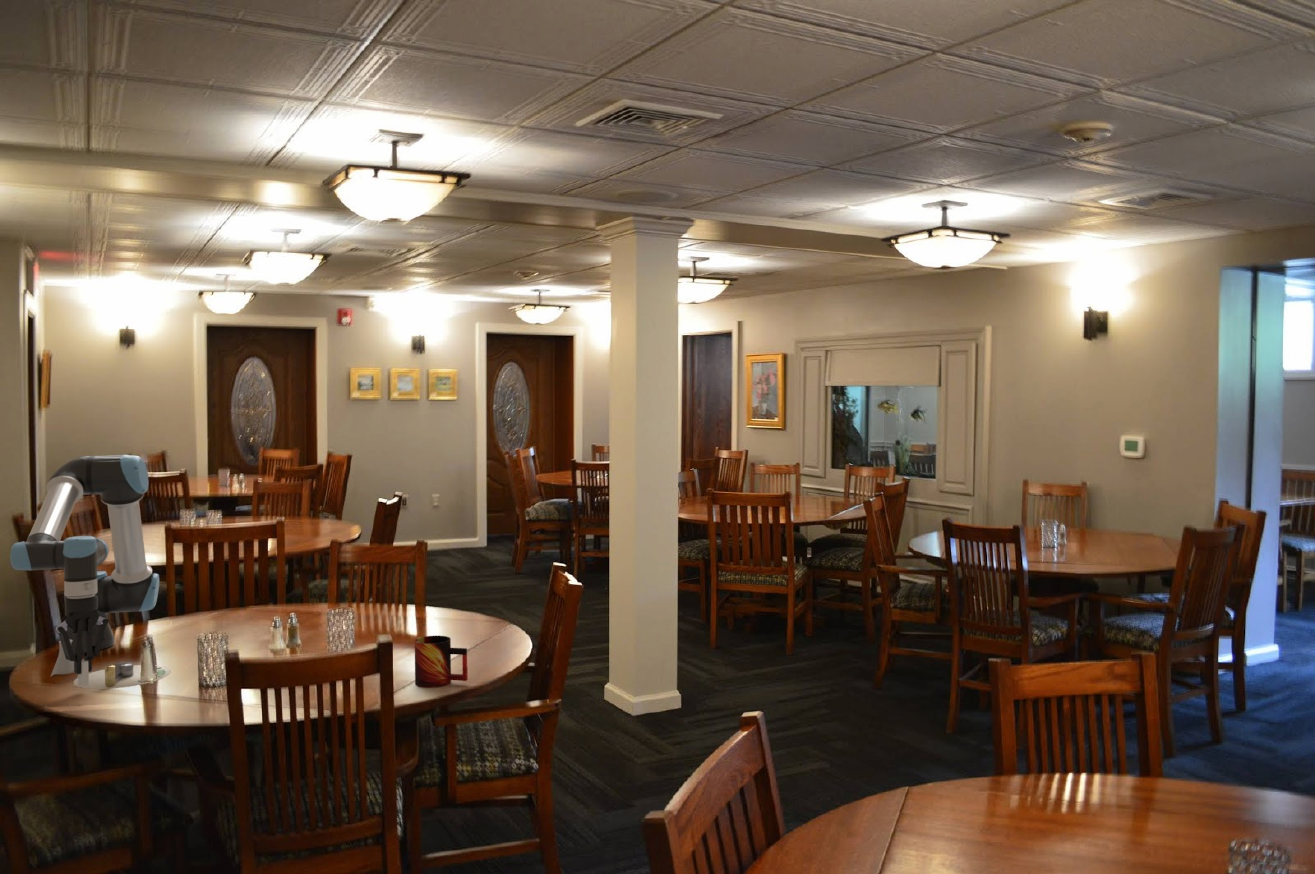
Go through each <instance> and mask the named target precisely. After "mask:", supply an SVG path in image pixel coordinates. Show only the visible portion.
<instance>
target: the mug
mask: <svg viewBox="0 0 1315 874" xmlns="http://www.w3.org/2000/svg"><path fill="white" fill-rule="evenodd" d="M451 643H452V642H451V637H450V636H446V635H426V636H421V637H417V638H415V639H414V685H415V686H416V687H418V688H425V689H434V688H442V687H445V686H448V685H450V684H452V681H457V682H459V681H461V682H467V681H468V677H469V676H468V673H469V672H468V648H465V647H452V644H451ZM452 655H457V656H458V655H461V656H462V659H461V660H462V674H461V673H452V662H451V661H452V658H451V657H452Z"/></svg>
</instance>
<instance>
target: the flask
mask: <svg viewBox="0 0 1315 874" xmlns="http://www.w3.org/2000/svg"><path fill="white" fill-rule="evenodd" d="M69 640H70V639H69ZM72 641H73V640H70V643H71V642H72ZM58 644H60V650H59V651H58V657H57V659H56V662H55V664H54V667H53V669H52V672H51V674H50V676H49V677H53V675H70V674H73V673H74V662H73V661H70V660H67V659H66V658H65V654H64V651H63V648H62V644H61V641H60V640H59V641H58ZM74 674H75V673H74Z"/></svg>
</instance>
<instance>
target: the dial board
mask: <svg viewBox="0 0 1315 874" xmlns="http://www.w3.org/2000/svg"><path fill="white" fill-rule="evenodd" d="M141 665H142V664H141ZM141 665H140V664H137V665H133V673H134V674H133V675H132V676H129V677H123V678H121V679H120V680H119V681H118V682H116V683H115V685H114V686H109V687H107V686H105V668H104V669H101V670H100V669H99V670H97V671H91V672H89V685H88V686H84V687H82V686H79V685H78V677H76V678H75V679H74V680H73V685H74V686H76V687H78V688H82V689H90V690H105V689H106V690H107V689H119V688H120V689H121V688H130V687H134V686H139V685H141V686H142V685H145V684H149V683H153V682H155V681H159V680H162V679H164V678H166V677H168V676H170V675H171V674H172V669H171V668H169V667H167V666H164V665H163V666H162V665H156V666H157V672H158V673H157V674H158V675H157V679H155V680H153V681H152V682H145V683H144V682H143V681H141V679H140V672H141Z"/></svg>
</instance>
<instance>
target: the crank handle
mask: <svg viewBox="0 0 1315 874" xmlns="http://www.w3.org/2000/svg"><path fill="white" fill-rule="evenodd" d="M133 666H134V663H133V662H132V661H131V662H129V661H127V662H119V663H115V664H108V665H105V666H104V669H105V686H107V687H109V686H114V685H115V683H116V682H118V681H119V680H120V679H121V678H123V677H129V676H132V675H133V674H134V673H133Z"/></svg>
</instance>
